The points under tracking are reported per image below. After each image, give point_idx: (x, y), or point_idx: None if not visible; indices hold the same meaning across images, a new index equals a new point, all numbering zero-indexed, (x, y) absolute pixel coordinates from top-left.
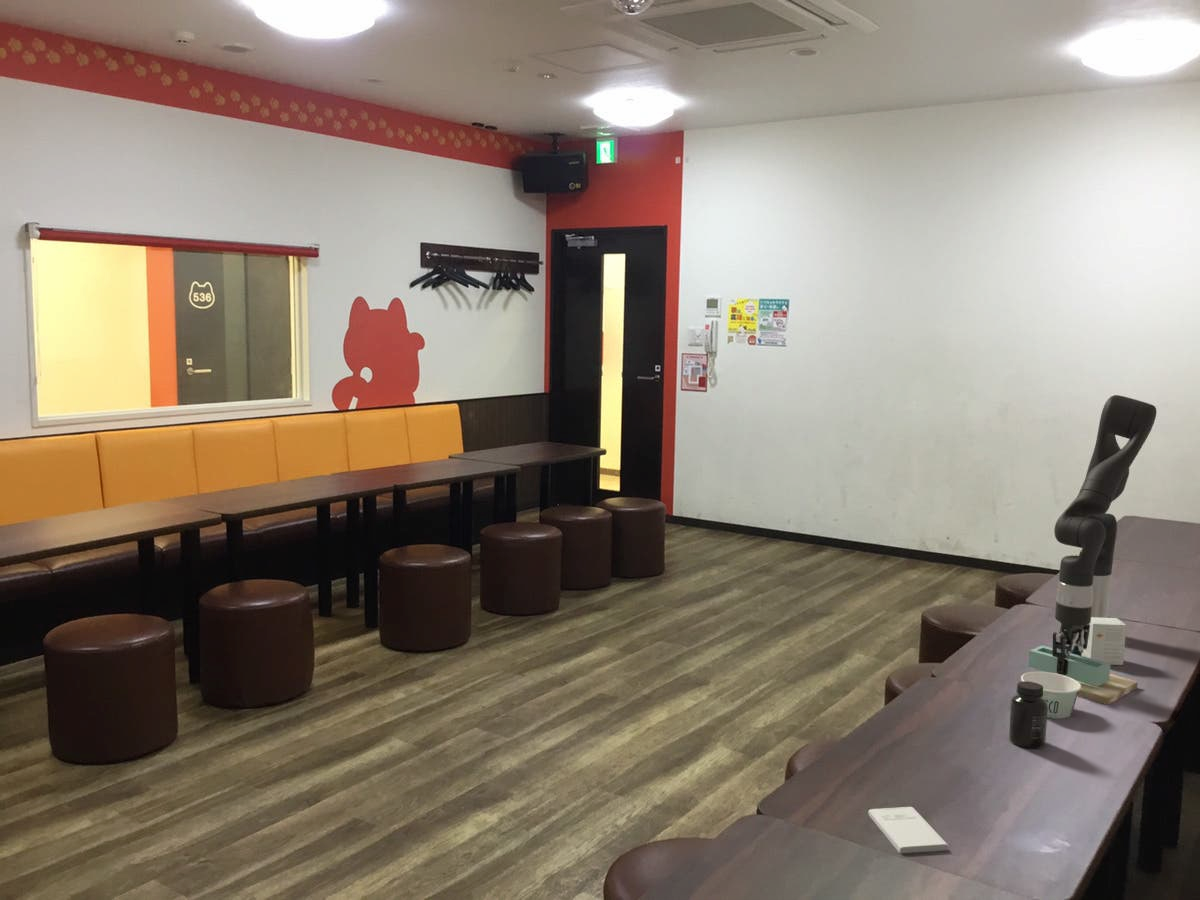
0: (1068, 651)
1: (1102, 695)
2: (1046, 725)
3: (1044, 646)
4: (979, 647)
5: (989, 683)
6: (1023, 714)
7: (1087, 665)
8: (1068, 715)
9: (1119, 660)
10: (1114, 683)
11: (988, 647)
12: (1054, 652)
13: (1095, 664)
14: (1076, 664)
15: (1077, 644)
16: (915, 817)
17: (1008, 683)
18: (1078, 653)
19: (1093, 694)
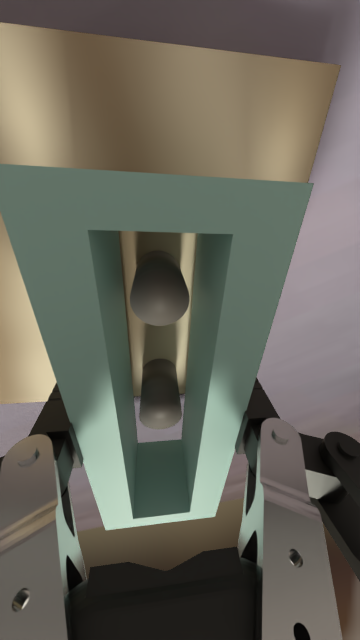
0: (305, 489)
1: (303, 125)
2: None
3: (110, 523)
4: (99, 520)
5: (312, 431)
6: None
7: (251, 310)
8: None
9: None
10: (27, 154)
11: (81, 517)
12: (353, 502)
13: (103, 295)
14: (255, 366)
15: (67, 540)
16: None
17: (285, 415)
18: (65, 441)
19: (308, 179)
